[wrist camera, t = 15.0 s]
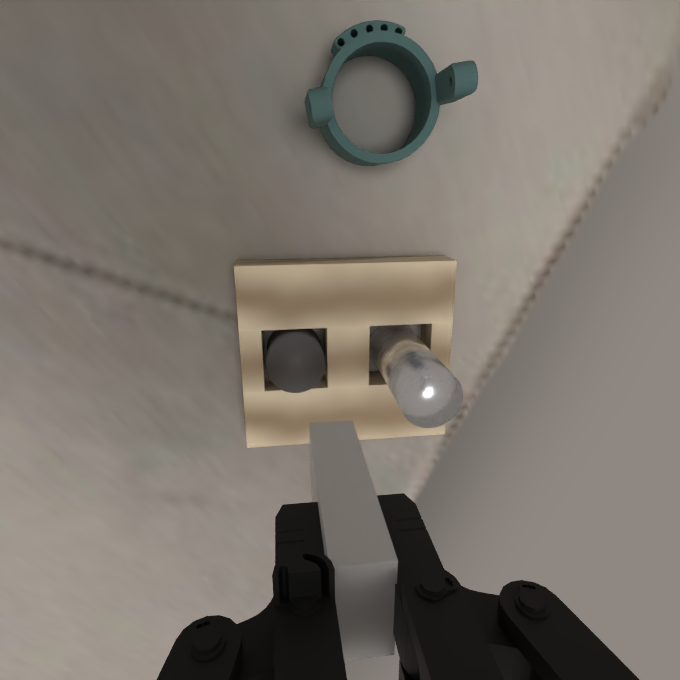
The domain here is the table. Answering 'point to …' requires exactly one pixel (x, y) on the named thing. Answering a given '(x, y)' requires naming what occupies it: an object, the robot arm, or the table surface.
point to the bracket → (418, 70)
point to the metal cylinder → (415, 376)
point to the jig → (333, 340)
